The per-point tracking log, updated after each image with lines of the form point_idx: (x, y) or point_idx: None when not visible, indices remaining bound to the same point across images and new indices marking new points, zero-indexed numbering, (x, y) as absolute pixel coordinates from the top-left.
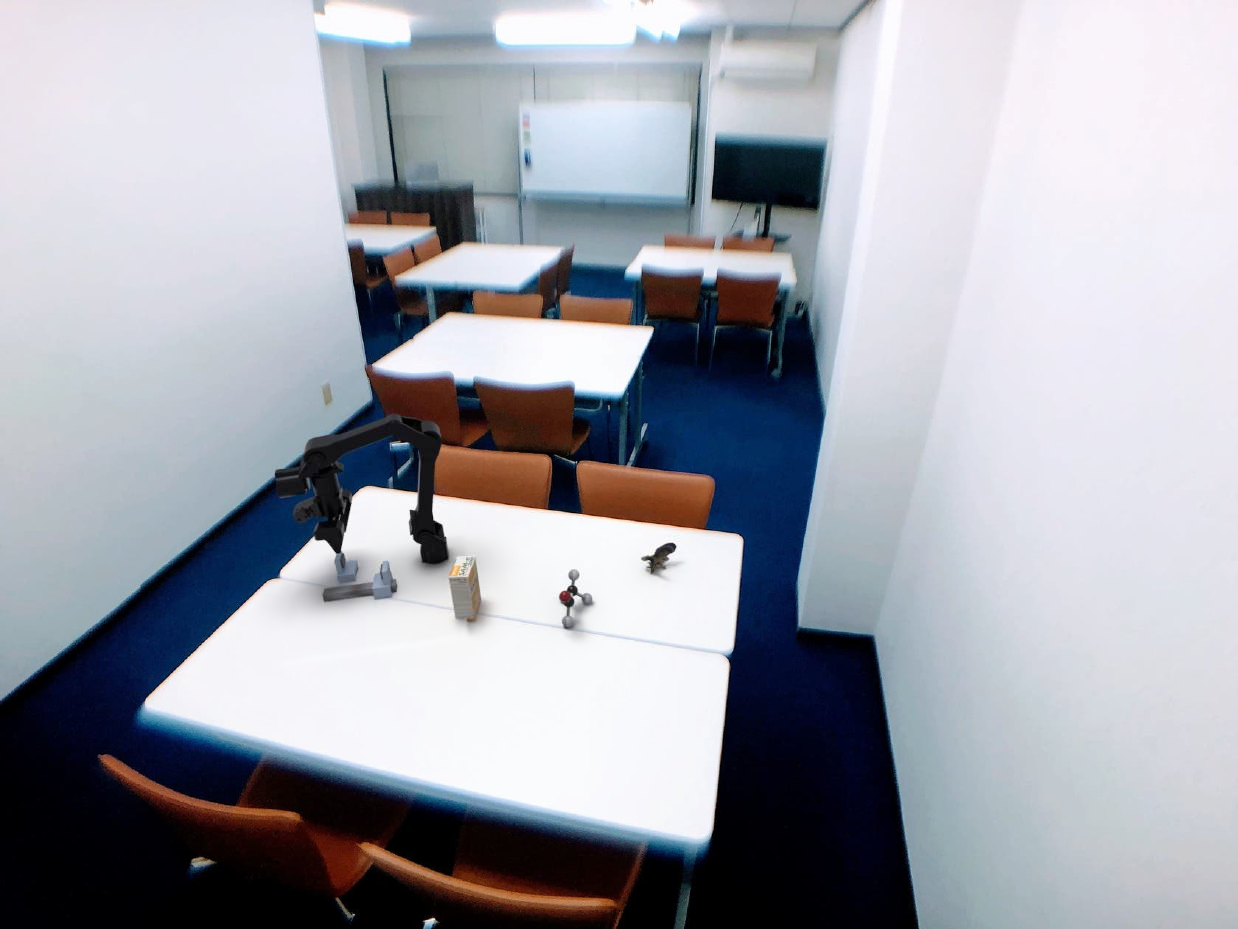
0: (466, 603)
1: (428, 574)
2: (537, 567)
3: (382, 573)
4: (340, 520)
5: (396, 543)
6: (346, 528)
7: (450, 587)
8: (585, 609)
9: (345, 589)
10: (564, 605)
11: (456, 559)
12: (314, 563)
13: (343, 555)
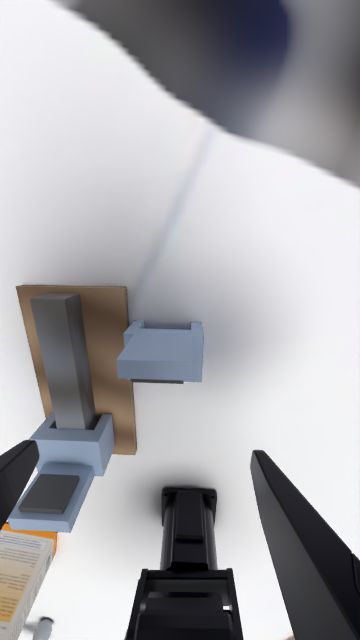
0: None
1: (143, 491)
2: (130, 610)
3: (12, 512)
4: (307, 596)
5: (292, 438)
6: (258, 506)
7: None
8: (28, 631)
9: (55, 362)
10: None
11: None
12: (280, 222)
13: (168, 382)
